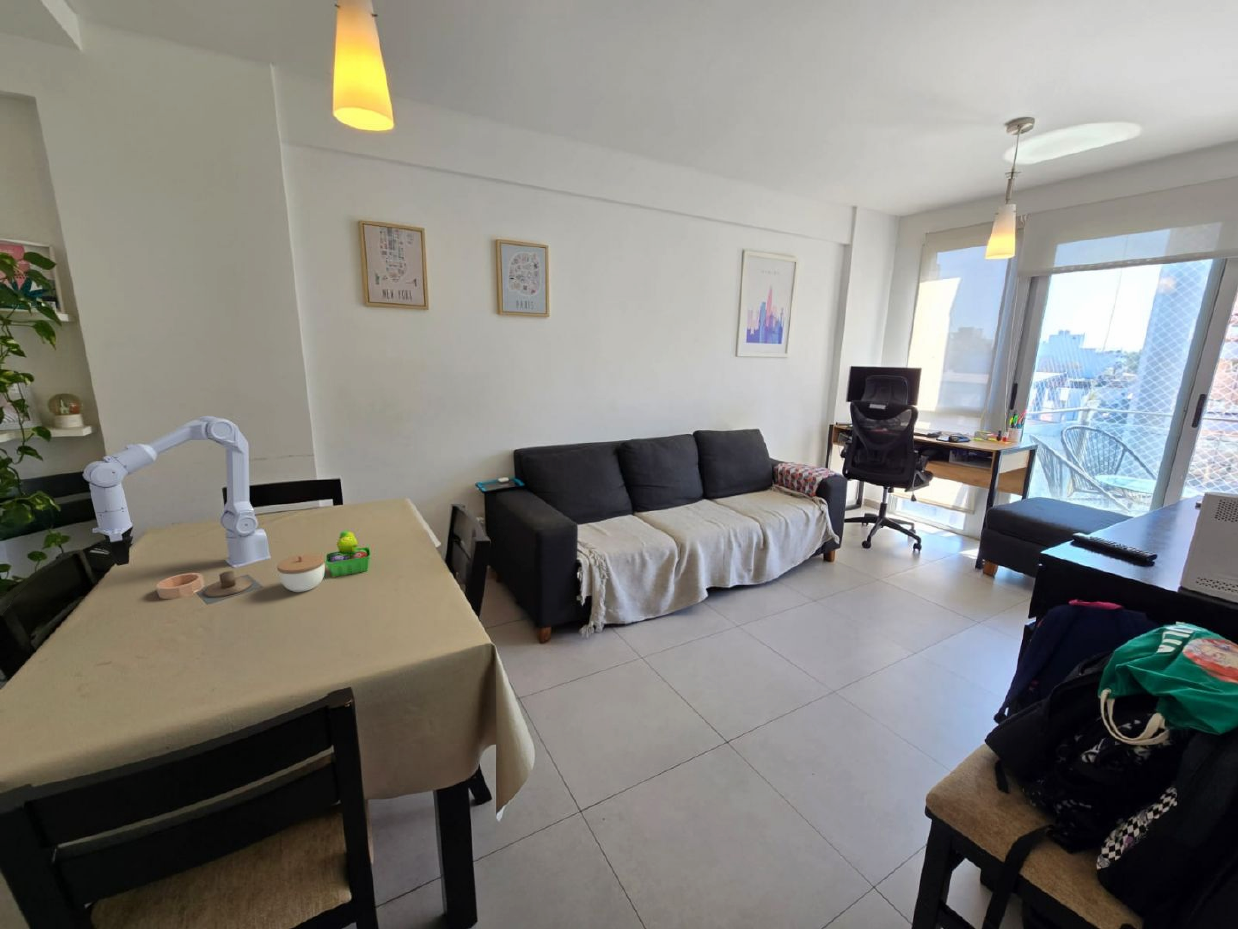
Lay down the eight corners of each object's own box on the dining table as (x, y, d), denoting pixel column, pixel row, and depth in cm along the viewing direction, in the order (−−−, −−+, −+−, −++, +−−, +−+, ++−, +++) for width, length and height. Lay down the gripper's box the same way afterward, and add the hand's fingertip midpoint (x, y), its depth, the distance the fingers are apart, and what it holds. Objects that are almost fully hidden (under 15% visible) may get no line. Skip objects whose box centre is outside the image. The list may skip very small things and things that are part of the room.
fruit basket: (327, 579, 139) (322, 542, 136) (328, 567, 146) (324, 531, 144) (372, 572, 144) (368, 536, 141) (371, 560, 152) (367, 526, 149)
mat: (247, 575, 140) (247, 574, 140) (263, 588, 133) (263, 587, 133) (194, 591, 131) (193, 589, 131) (208, 605, 124) (207, 604, 124)
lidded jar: (336, 584, 136) (332, 552, 134) (297, 601, 127) (293, 567, 125) (311, 576, 141) (307, 545, 139) (272, 592, 131) (266, 559, 129)
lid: (244, 576, 139) (242, 562, 138) (257, 587, 133) (255, 572, 132) (199, 589, 131) (196, 574, 130) (211, 601, 125) (208, 586, 124)
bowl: (198, 580, 136) (196, 570, 136) (208, 590, 131) (206, 579, 130) (155, 592, 129) (153, 581, 129) (164, 603, 124) (161, 592, 123)
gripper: (89, 505, 125) (101, 555, 128) (86, 520, 115) (99, 573, 118) (128, 499, 130) (139, 547, 133) (128, 513, 120) (140, 565, 123)
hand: (123, 559), depth 126 cm, fingers open, 7 cm apart
